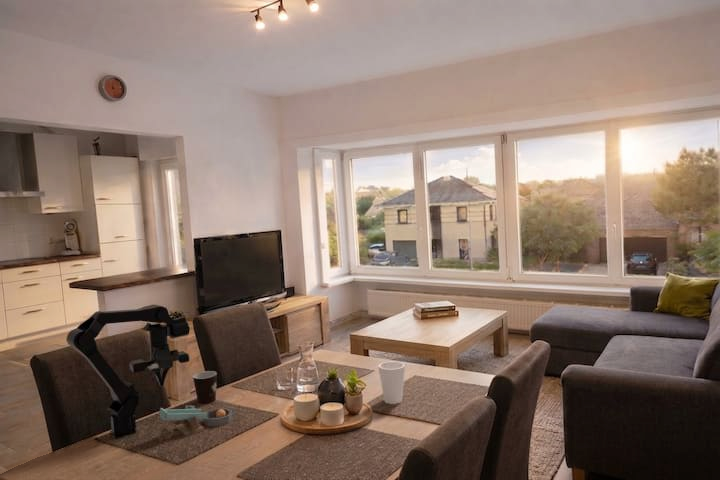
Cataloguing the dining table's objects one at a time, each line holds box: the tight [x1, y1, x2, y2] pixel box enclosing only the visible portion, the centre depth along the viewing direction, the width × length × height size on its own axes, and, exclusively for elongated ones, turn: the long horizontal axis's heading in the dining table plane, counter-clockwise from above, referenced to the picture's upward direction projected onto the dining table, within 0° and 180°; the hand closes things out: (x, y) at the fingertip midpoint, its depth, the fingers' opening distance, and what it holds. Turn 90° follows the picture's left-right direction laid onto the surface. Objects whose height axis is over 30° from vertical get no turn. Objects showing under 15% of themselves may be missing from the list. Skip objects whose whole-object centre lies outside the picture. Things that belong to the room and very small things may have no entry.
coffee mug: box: [192, 370, 218, 405], centre depth 200 cm, size 12×9×10 cm
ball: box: [216, 408, 226, 418], centre depth 181 cm, size 3×3×3 cm
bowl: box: [202, 408, 233, 427], centre depth 180 cm, size 9×9×2 cm
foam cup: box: [378, 360, 406, 405], centre depth 190 cm, size 10×9×13 cm
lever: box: [158, 405, 207, 421], centre depth 176 cm, size 14×13×3 cm
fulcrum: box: [157, 416, 205, 441], centre depth 172 cm, size 13×8×5 cm, turn 129°
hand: (161, 385), depth 184 cm, fingers closed
